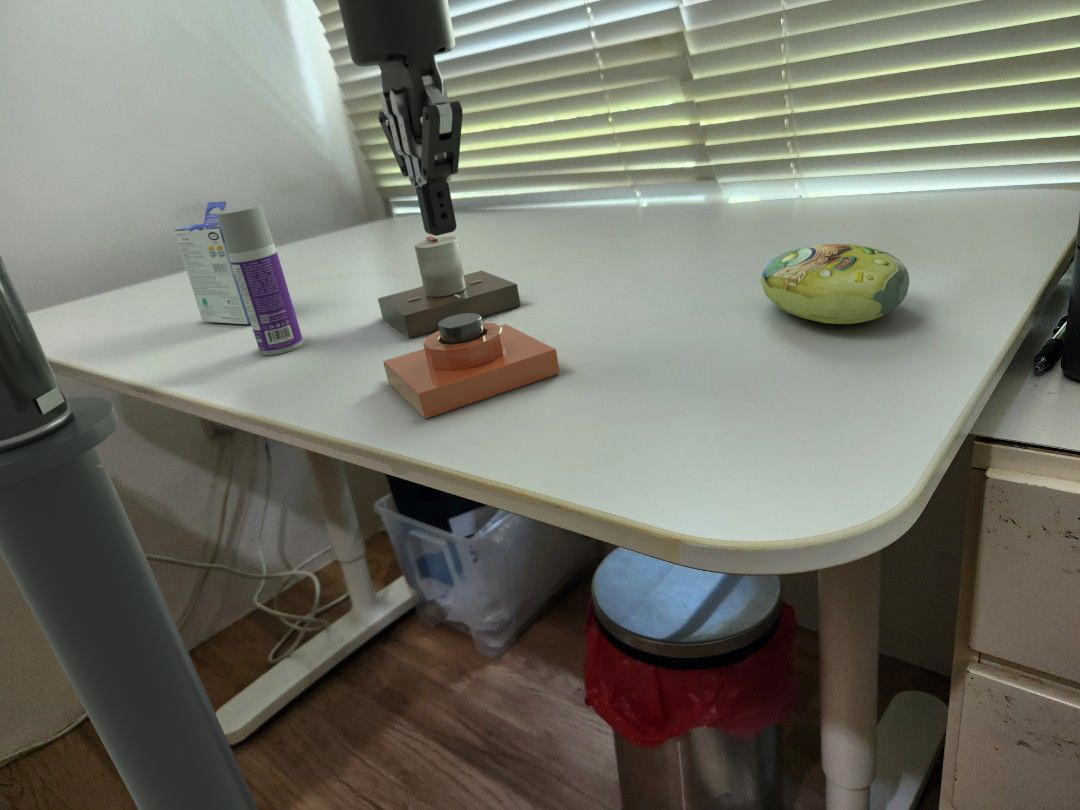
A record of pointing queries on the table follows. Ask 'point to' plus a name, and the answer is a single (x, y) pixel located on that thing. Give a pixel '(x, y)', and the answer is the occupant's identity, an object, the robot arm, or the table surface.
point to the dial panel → (448, 304)
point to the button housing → (469, 369)
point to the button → (461, 328)
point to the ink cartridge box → (211, 270)
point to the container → (260, 279)
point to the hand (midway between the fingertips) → (441, 232)
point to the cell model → (836, 283)
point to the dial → (440, 266)
